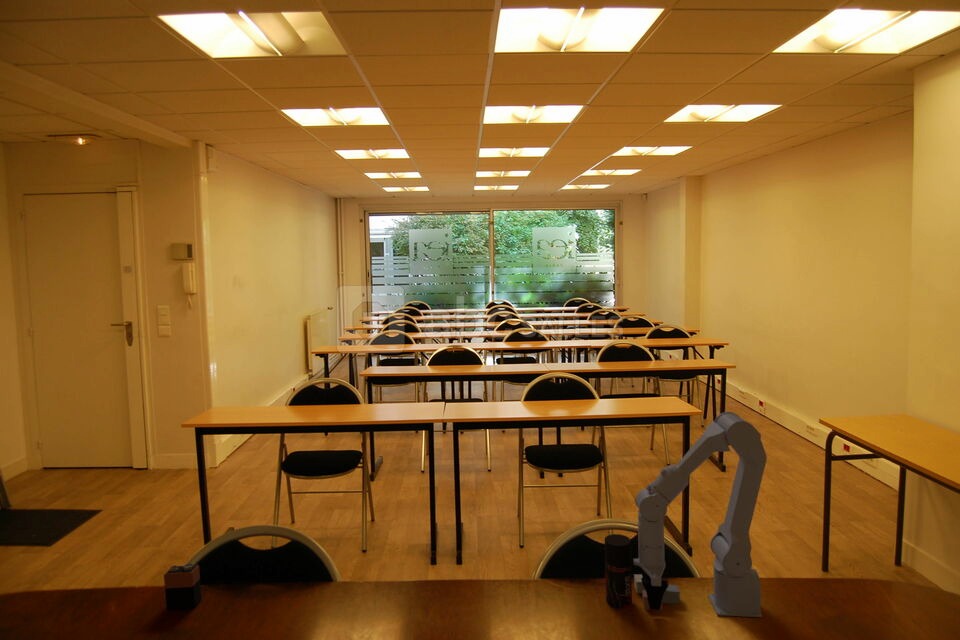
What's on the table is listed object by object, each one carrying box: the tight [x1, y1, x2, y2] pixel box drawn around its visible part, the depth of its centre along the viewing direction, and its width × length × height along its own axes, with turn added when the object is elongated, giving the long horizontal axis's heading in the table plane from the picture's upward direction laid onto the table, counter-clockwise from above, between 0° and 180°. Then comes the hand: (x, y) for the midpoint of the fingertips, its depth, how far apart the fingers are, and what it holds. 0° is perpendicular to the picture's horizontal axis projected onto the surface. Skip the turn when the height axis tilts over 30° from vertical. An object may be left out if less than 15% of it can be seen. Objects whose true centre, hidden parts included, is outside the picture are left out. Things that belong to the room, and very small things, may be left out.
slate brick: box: [662, 584, 681, 605], centre depth 133 cm, size 4×3×3 cm
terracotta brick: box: [641, 590, 663, 611], centre depth 131 cm, size 4×3×3 cm
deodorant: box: [604, 533, 633, 610], centre depth 133 cm, size 6×6×15 cm
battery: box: [163, 563, 203, 611], centre depth 139 cm, size 4×7×10 cm, turn 93°
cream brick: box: [633, 573, 645, 594], centre depth 138 cm, size 6×4×3 cm, turn 85°
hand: (652, 599), depth 131 cm, fingers open, 7 cm apart
